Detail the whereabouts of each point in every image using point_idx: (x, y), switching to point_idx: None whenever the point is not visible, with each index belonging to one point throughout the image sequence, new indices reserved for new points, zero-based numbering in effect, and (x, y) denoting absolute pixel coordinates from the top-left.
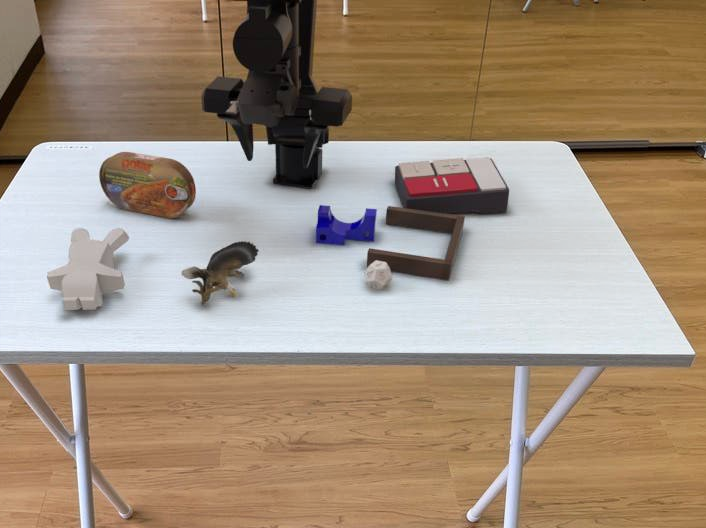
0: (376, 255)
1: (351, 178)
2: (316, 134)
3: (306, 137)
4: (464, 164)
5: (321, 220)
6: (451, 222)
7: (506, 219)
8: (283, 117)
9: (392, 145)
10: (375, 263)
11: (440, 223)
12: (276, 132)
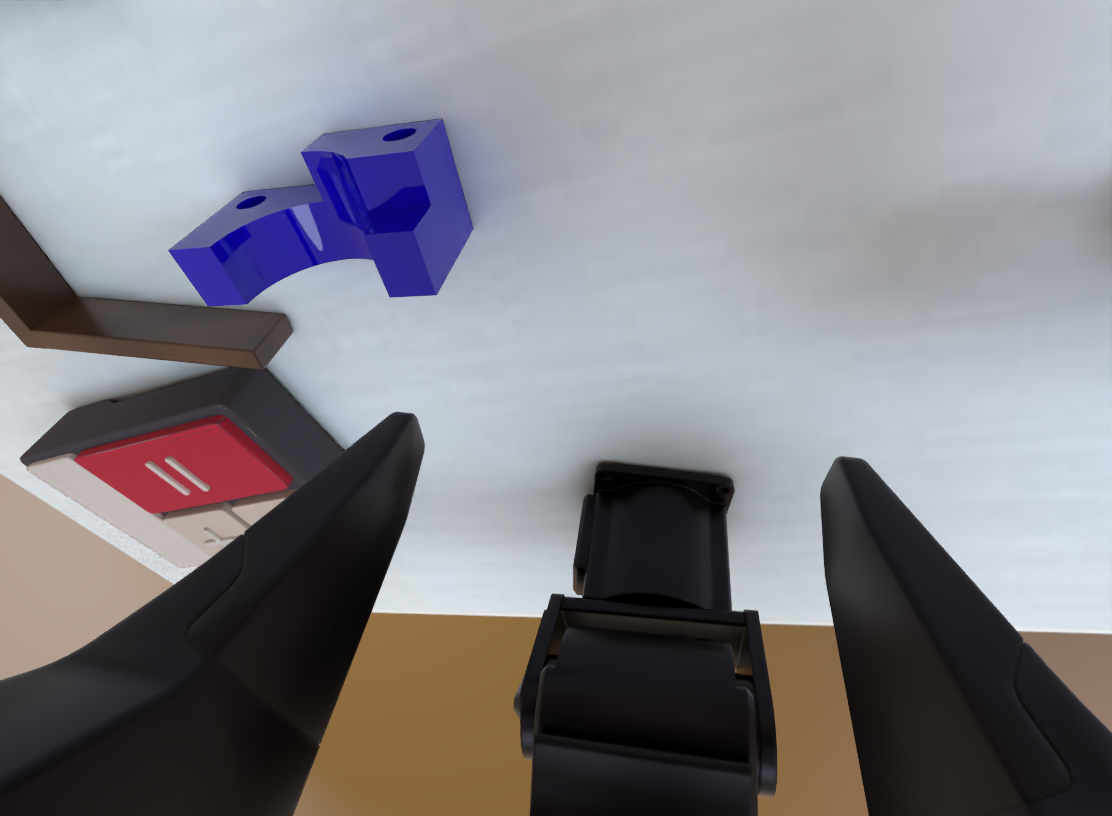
0: None
1: (504, 510)
2: (62, 665)
3: (217, 634)
4: (196, 544)
5: (409, 210)
6: (58, 321)
7: (47, 386)
8: (681, 735)
9: (472, 607)
10: None
11: (96, 318)
12: (716, 661)
